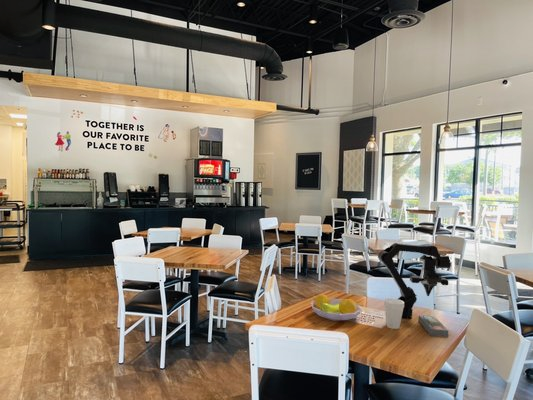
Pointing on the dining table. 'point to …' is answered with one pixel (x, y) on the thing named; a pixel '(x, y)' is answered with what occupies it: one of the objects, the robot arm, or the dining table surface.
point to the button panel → (430, 329)
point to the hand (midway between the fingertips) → (427, 295)
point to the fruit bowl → (335, 308)
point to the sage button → (432, 321)
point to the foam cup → (393, 312)
